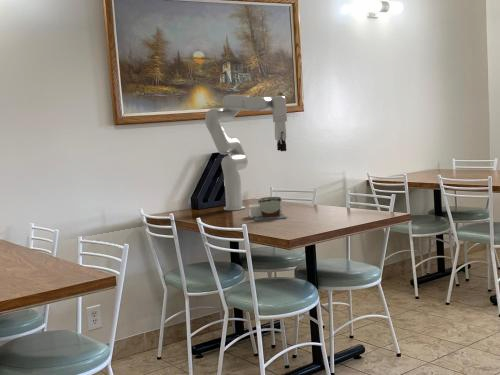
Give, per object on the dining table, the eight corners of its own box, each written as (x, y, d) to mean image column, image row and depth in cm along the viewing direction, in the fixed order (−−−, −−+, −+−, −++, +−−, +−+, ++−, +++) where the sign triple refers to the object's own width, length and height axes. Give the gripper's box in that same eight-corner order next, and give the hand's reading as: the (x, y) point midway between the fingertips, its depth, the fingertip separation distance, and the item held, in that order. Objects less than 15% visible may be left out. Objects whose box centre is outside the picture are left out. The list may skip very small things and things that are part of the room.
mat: (252, 217, 334) (252, 216, 334) (282, 215, 336) (282, 213, 336) (255, 221, 322) (255, 220, 322) (286, 218, 324) (286, 217, 324)
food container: (280, 214, 334) (279, 196, 333) (282, 216, 328) (281, 197, 327) (257, 216, 332) (256, 197, 331) (259, 218, 326) (258, 199, 325)
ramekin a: (249, 216, 340) (248, 205, 339) (264, 214, 341) (263, 203, 340) (251, 218, 332) (250, 207, 332) (266, 217, 333) (265, 205, 332)
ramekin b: (265, 214, 341) (264, 203, 340) (279, 213, 342) (279, 202, 341) (267, 217, 333) (266, 205, 332) (282, 215, 334) (281, 204, 333)
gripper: (270, 119, 352) (272, 150, 354) (275, 119, 335) (277, 152, 337) (284, 118, 353) (285, 149, 355) (289, 118, 336) (291, 151, 338)
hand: (281, 150), depth 346 cm, fingers open, 9 cm apart
